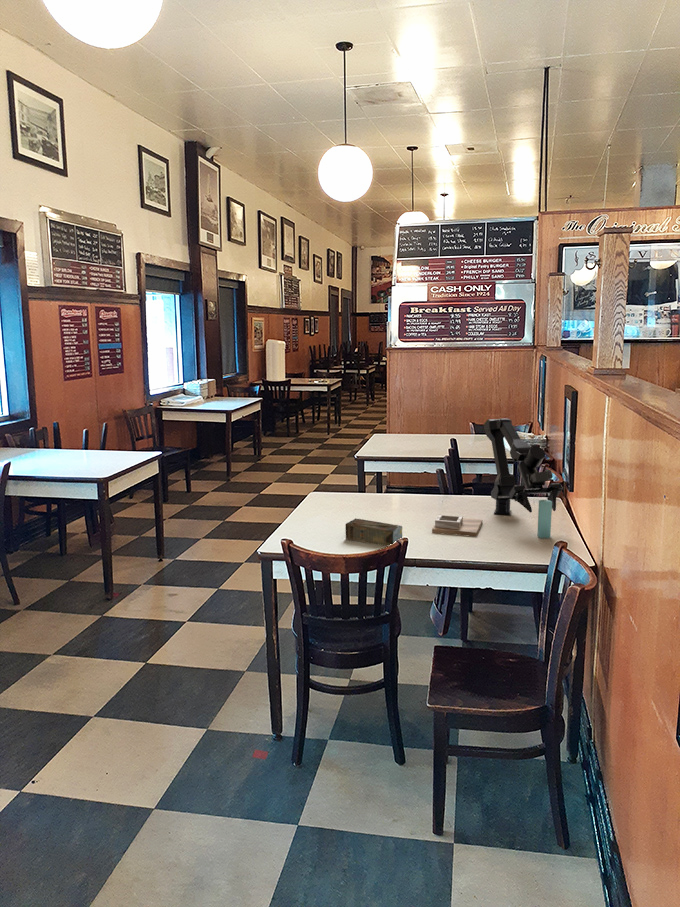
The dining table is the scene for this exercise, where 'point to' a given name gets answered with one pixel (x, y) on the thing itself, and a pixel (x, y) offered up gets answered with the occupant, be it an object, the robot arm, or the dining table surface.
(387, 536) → the beverage carton
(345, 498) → the dining table surface
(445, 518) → the base board
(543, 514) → the post
